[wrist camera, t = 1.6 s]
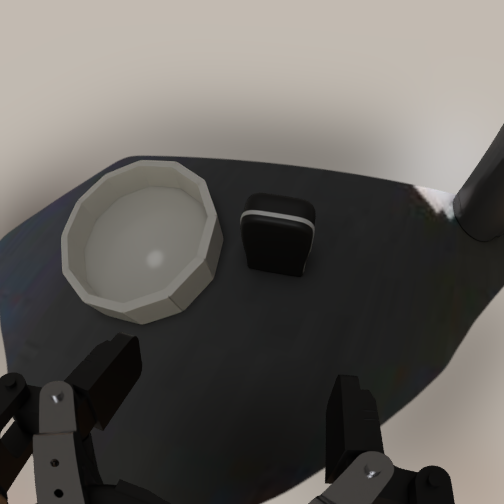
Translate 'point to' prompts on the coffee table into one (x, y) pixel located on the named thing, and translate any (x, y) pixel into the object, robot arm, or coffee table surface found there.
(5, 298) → the coffee table surface
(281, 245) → the battery charger
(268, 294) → the coffee table surface
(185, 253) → the bowl
